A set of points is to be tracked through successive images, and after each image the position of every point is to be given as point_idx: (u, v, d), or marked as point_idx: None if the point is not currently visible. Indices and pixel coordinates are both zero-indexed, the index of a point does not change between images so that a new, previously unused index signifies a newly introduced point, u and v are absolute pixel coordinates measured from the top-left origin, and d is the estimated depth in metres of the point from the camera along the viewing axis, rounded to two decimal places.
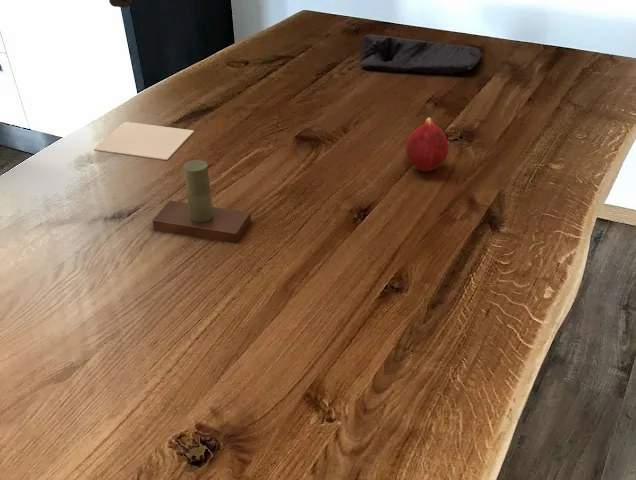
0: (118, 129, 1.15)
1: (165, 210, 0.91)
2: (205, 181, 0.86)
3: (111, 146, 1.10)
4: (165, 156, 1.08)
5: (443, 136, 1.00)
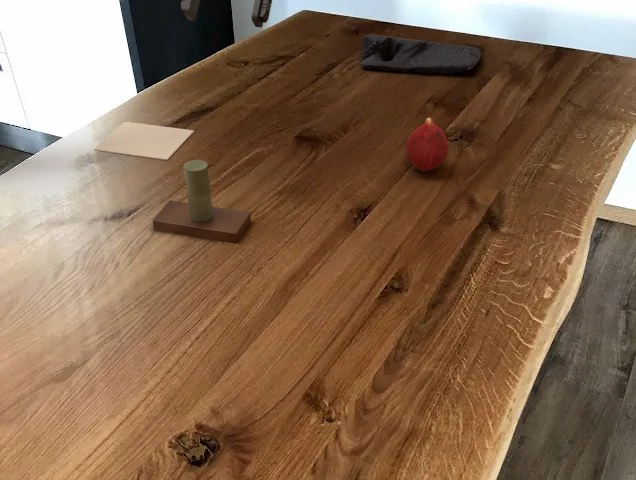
0: (118, 129, 1.15)
1: (165, 210, 0.91)
2: (205, 181, 0.86)
3: (111, 146, 1.10)
4: (165, 156, 1.08)
5: (443, 136, 1.00)
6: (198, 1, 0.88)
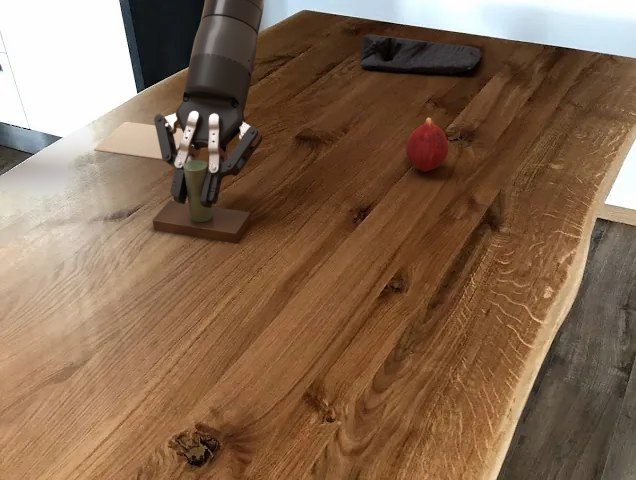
0: (118, 129, 1.15)
1: (165, 210, 0.91)
2: None
3: (111, 146, 1.10)
4: None
5: (443, 136, 1.00)
6: None
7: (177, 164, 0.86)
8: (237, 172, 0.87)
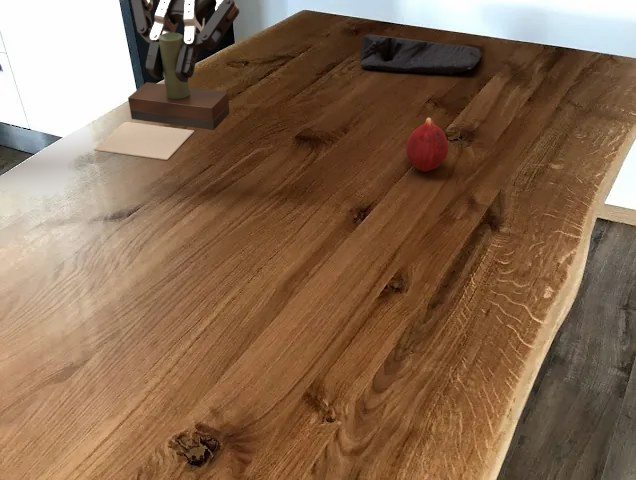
0: (118, 129, 1.15)
1: (141, 90, 0.90)
2: None
3: (111, 146, 1.10)
4: (165, 156, 1.08)
5: (443, 136, 1.00)
6: None
7: (152, 36, 0.85)
8: (213, 45, 0.86)
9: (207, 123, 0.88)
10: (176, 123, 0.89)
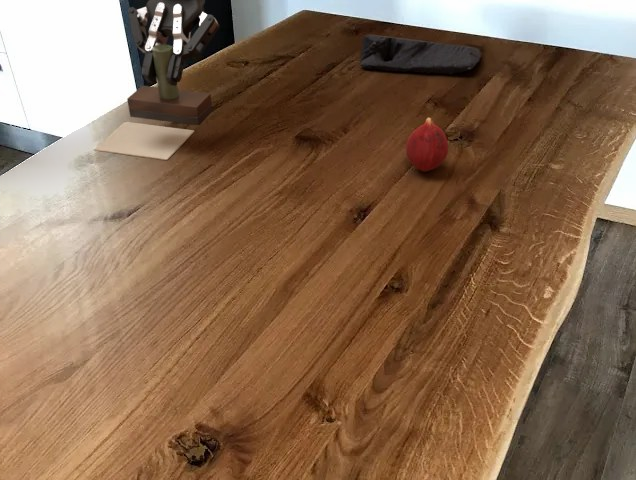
0: (118, 129, 1.15)
1: (138, 92, 1.08)
2: None
3: (111, 146, 1.10)
4: (165, 156, 1.08)
5: (443, 136, 1.00)
6: None
7: (147, 48, 1.03)
8: (198, 55, 1.03)
9: (193, 120, 1.05)
10: (167, 120, 1.06)
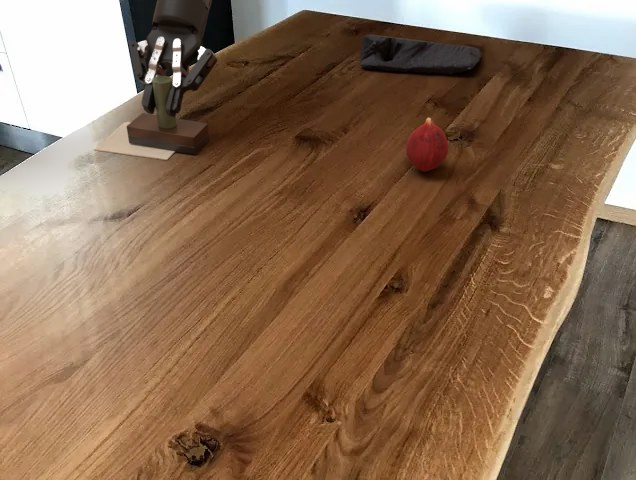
0: (118, 129, 1.15)
1: (138, 119, 1.11)
2: None
3: (111, 146, 1.10)
4: (165, 156, 1.08)
5: (443, 136, 1.00)
6: None
7: (147, 80, 1.06)
8: (196, 87, 1.06)
9: (189, 149, 1.08)
10: (165, 148, 1.09)
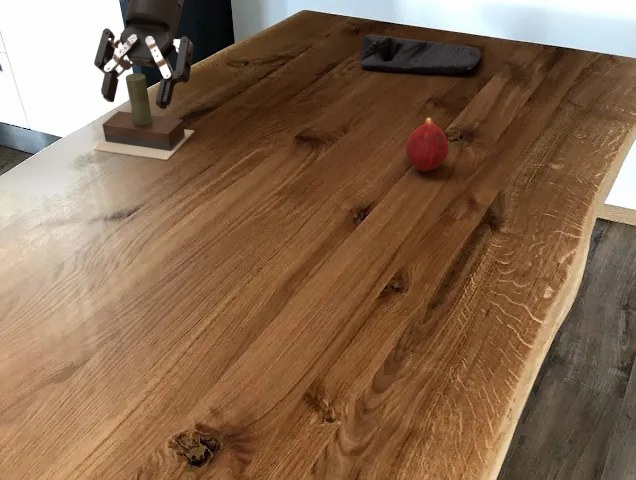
0: None
1: (114, 117, 1.12)
2: (143, 90, 1.07)
3: (111, 146, 1.10)
4: (165, 156, 1.08)
5: (443, 136, 1.00)
6: (116, 86, 1.09)
7: (106, 69, 1.07)
8: (187, 77, 1.07)
9: (165, 145, 1.09)
10: (141, 145, 1.10)
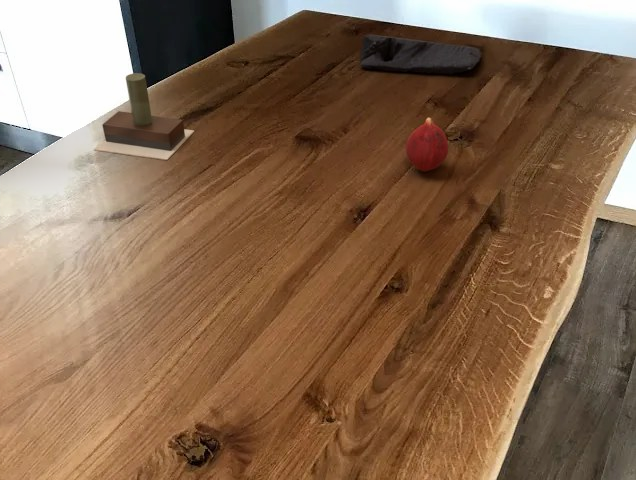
0: None
1: (114, 117, 1.12)
2: (143, 90, 1.07)
3: (111, 146, 1.10)
4: (165, 156, 1.08)
5: (443, 136, 1.00)
6: None
7: None
8: None
9: (165, 145, 1.09)
10: (141, 145, 1.10)
